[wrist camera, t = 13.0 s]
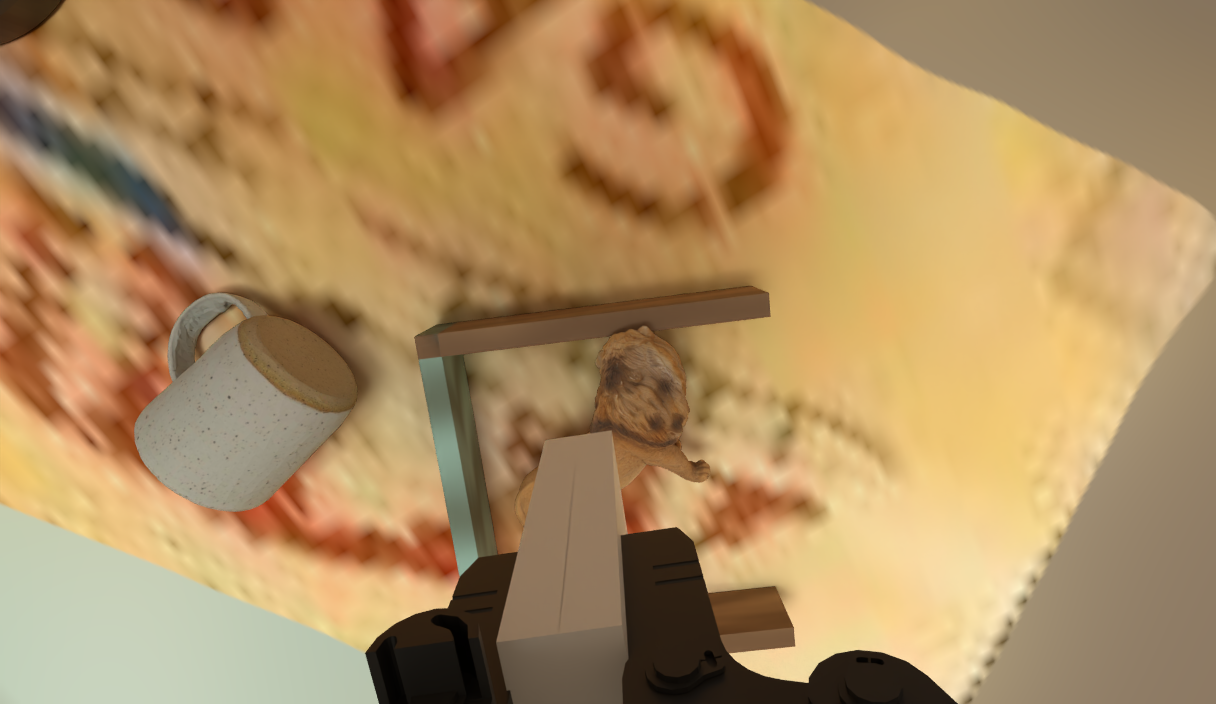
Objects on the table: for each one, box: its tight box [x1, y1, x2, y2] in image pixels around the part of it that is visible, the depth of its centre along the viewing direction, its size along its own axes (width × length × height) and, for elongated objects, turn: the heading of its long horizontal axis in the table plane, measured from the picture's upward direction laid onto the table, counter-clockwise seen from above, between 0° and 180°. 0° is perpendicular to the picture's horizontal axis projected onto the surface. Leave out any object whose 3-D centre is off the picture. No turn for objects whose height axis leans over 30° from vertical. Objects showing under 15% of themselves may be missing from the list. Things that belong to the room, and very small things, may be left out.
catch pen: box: [414, 286, 795, 653], centre depth 35 cm, size 20×18×4 cm
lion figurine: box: [515, 326, 710, 527], centre depth 32 cm, size 15×5×9 cm
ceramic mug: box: [134, 293, 357, 512], centre depth 32 cm, size 11×8×8 cm
